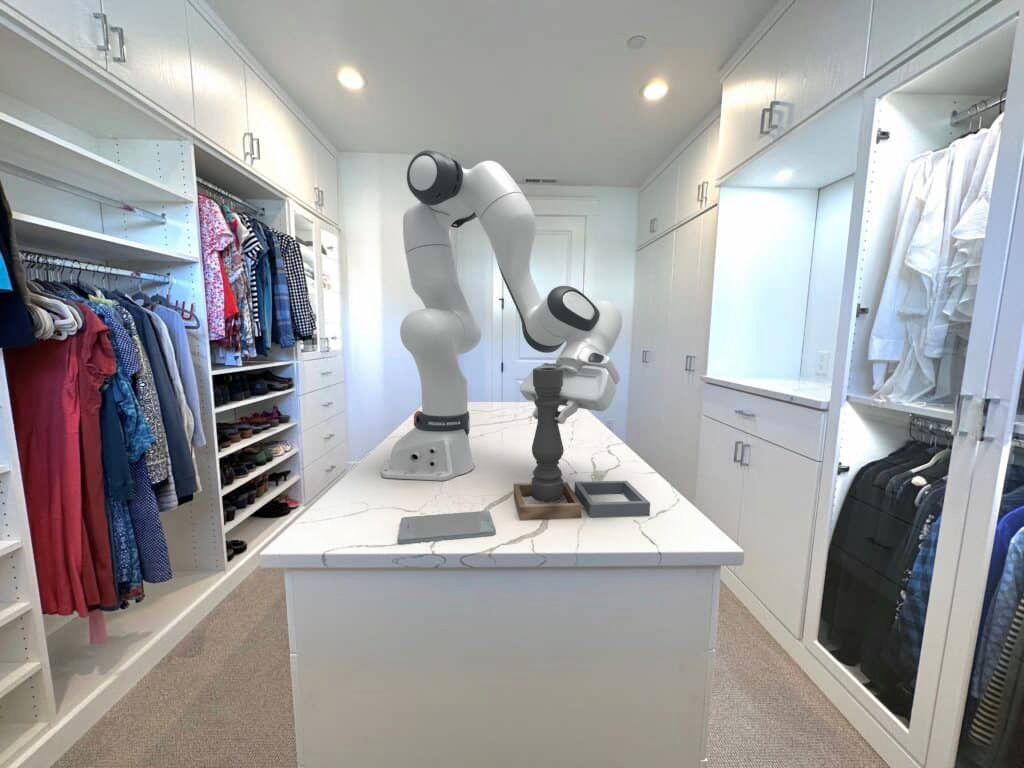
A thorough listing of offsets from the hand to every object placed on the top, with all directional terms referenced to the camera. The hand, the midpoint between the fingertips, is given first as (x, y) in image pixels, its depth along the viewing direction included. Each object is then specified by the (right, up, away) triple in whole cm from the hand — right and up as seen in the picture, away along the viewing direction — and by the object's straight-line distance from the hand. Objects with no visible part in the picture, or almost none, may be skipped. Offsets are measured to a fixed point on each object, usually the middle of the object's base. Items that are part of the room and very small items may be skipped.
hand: (547, 419), depth 75 cm
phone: (-18, -19, -7) cm, 27 cm away
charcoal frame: (+13, -17, +3) cm, 22 cm away
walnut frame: (0, -17, +2) cm, 17 cm away
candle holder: (0, -15, +2) cm, 15 cm away
